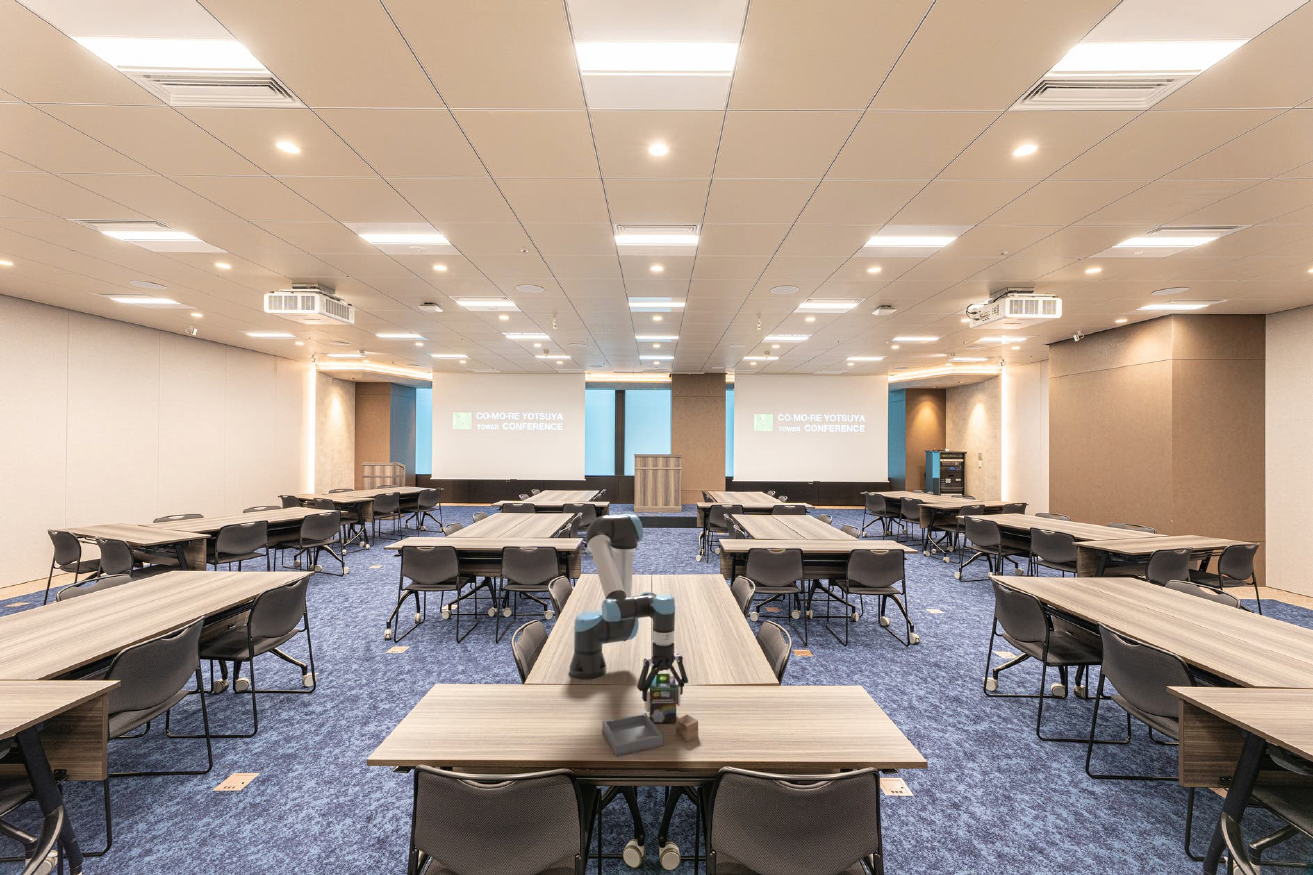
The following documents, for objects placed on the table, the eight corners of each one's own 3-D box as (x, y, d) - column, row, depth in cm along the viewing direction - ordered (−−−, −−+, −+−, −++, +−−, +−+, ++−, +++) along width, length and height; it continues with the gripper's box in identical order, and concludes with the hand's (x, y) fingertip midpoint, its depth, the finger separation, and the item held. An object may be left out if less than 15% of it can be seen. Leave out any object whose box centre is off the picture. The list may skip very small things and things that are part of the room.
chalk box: (674, 709, 173) (675, 666, 174) (676, 723, 164) (677, 678, 165) (648, 709, 173) (649, 666, 174) (649, 723, 164) (649, 678, 164)
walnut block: (675, 735, 158) (676, 719, 158) (686, 730, 161) (687, 714, 161) (687, 742, 154) (687, 726, 154) (698, 736, 157) (698, 720, 157)
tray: (602, 730, 160) (602, 720, 160) (645, 721, 165) (645, 712, 166) (615, 756, 146) (616, 746, 146) (662, 746, 152) (662, 736, 152)
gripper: (635, 650, 162) (634, 718, 161) (698, 641, 170) (697, 706, 170) (628, 642, 169) (626, 707, 168) (689, 634, 177) (688, 696, 177)
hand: (662, 707), depth 169 cm, fingers closed on chalk box, 11 cm apart
